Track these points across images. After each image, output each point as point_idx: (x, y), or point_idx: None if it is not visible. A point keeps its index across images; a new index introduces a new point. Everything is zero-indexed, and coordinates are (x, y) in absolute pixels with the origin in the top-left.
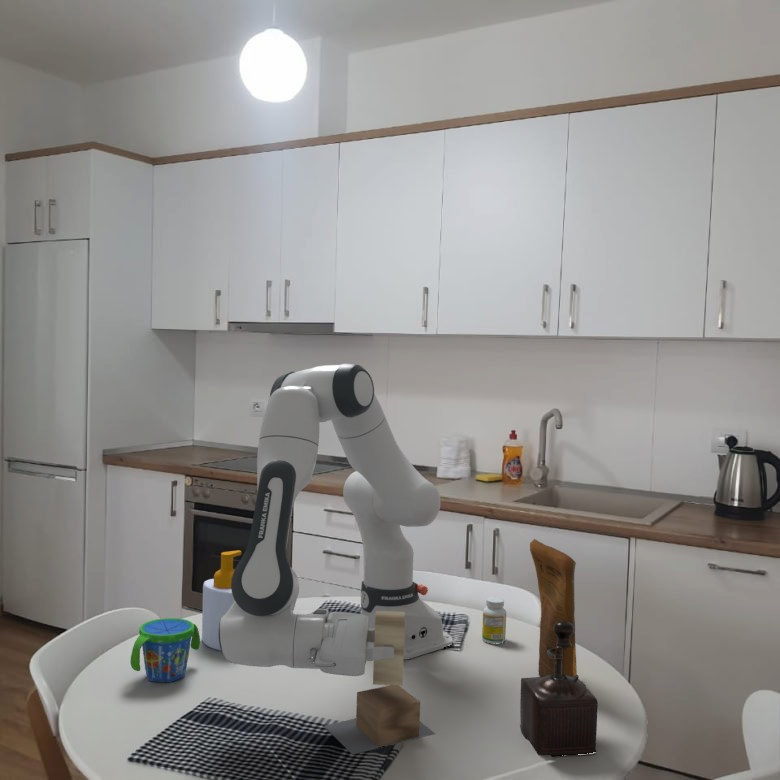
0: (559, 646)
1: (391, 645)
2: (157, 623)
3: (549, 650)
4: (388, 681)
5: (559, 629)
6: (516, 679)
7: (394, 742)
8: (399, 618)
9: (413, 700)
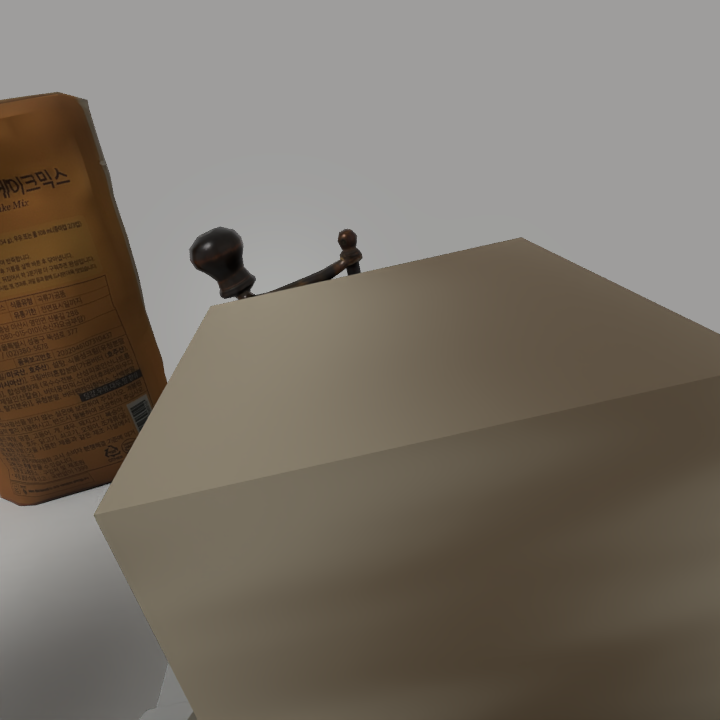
0: (346, 229)
1: None
2: None
3: (272, 291)
4: None
5: (235, 242)
6: (46, 540)
7: None
8: (449, 269)
9: None
